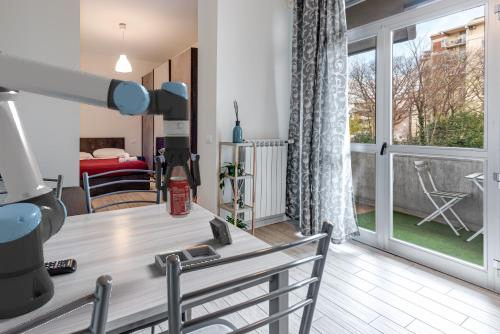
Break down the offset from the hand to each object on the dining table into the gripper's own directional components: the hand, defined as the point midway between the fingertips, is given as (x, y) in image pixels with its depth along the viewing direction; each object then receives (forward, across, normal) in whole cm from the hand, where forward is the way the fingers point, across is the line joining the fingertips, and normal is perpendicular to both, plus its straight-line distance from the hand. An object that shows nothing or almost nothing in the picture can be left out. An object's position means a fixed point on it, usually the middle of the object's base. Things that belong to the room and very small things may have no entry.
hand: (179, 209), depth 96 cm
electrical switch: (+19, +19, +13) cm, 30 cm away
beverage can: (+2, 0, 0) cm, 2 cm away
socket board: (+18, +2, 0) cm, 18 cm away
